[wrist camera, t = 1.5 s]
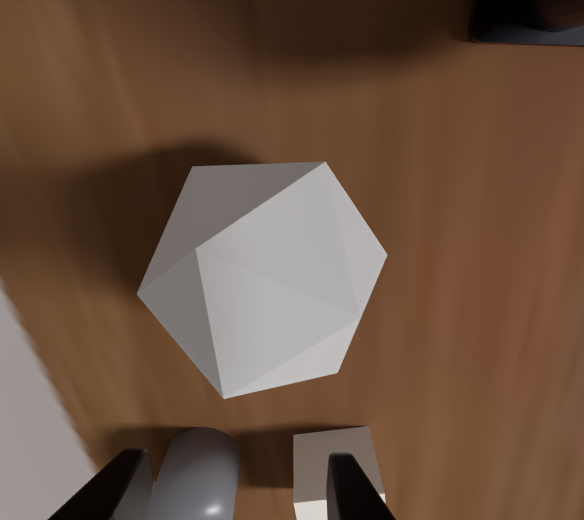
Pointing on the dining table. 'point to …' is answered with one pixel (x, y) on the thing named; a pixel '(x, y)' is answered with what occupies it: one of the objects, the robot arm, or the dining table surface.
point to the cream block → (314, 466)
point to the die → (263, 274)
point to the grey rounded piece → (197, 477)
